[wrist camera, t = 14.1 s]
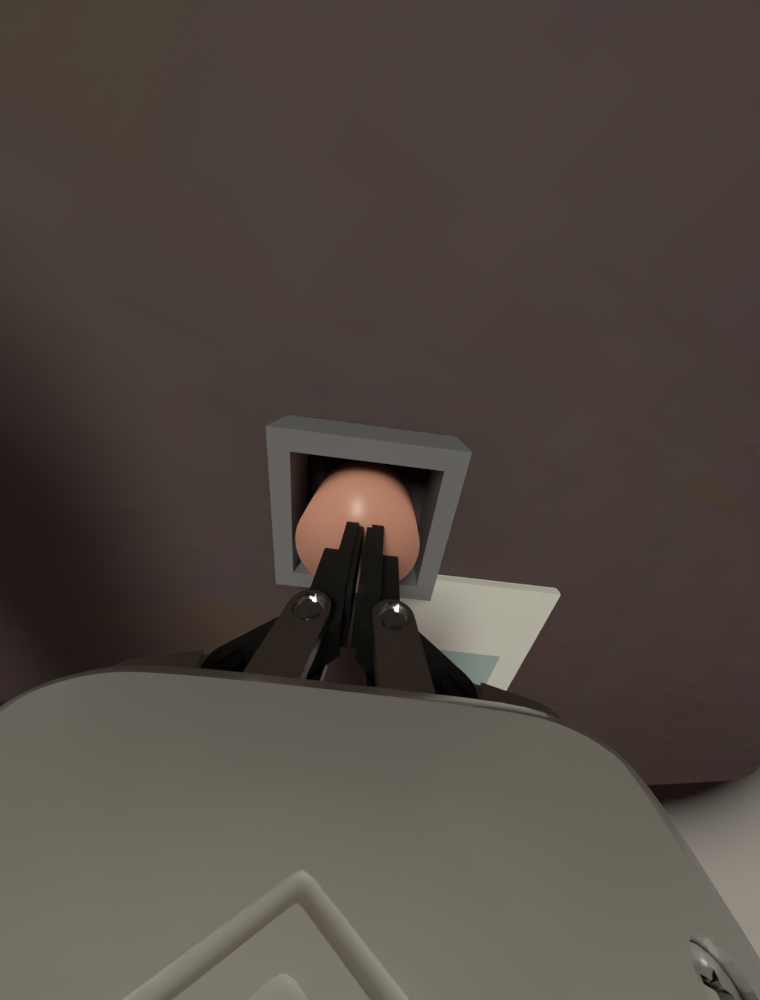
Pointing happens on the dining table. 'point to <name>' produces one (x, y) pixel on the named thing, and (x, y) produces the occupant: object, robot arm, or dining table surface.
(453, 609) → the paper board
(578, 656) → the dining table surface
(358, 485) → the tan oval piece
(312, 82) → the dining table surface
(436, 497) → the gray square tray
